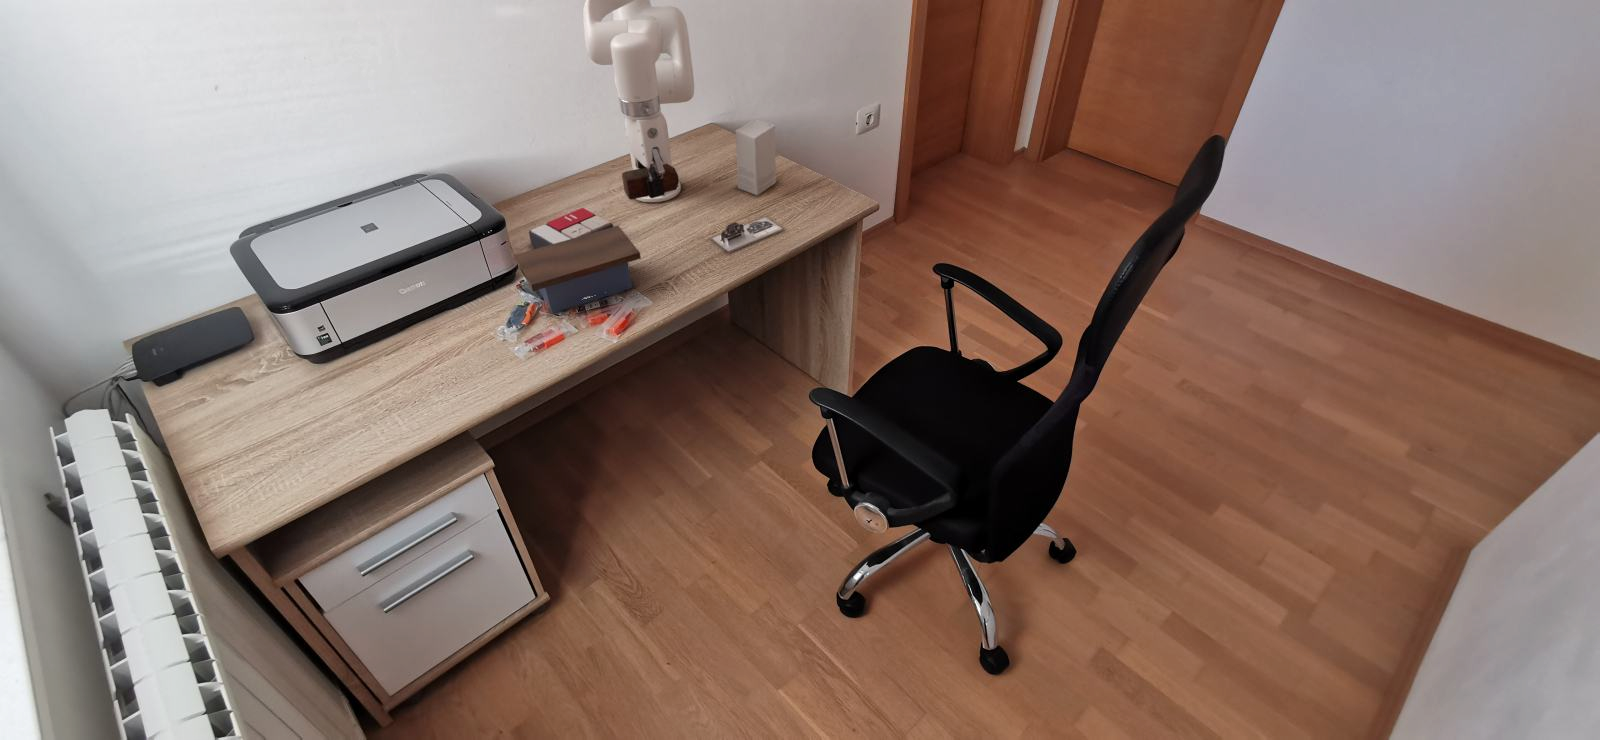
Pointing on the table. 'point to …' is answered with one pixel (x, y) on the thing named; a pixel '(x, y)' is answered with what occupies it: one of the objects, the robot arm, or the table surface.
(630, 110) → the robot arm
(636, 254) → the board
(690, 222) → the table surface
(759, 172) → the cosmetic box
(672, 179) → the brick
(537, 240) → the button pad
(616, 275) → the blue box
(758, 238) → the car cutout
